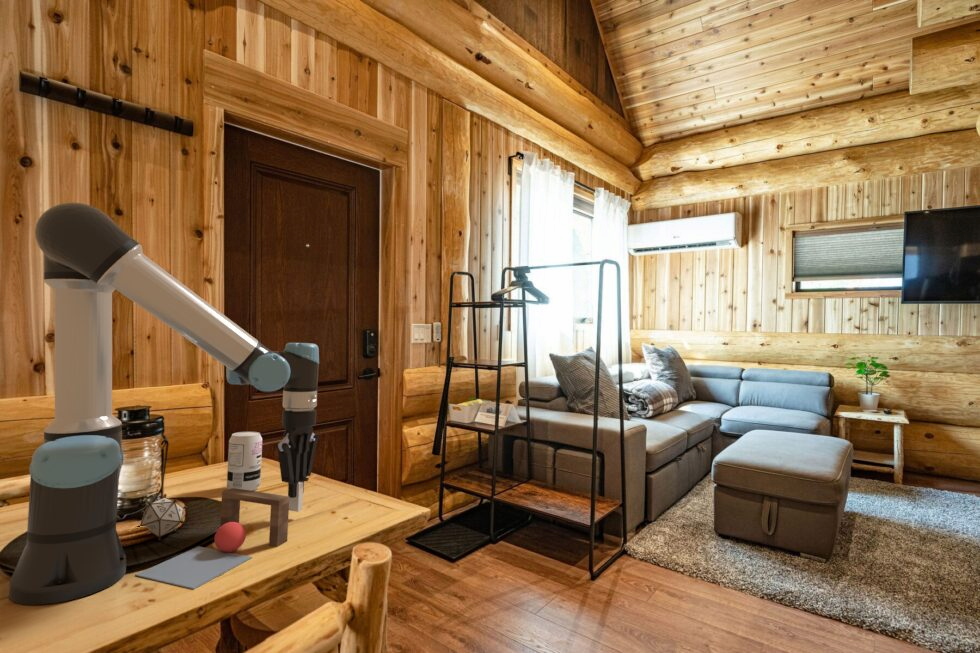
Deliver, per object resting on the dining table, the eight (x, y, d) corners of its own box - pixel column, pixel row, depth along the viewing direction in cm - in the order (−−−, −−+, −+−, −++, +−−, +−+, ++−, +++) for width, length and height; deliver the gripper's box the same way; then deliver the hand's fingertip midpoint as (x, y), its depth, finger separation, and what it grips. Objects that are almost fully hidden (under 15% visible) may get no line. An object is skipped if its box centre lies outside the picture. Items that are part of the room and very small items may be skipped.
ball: (249, 550, 101) (228, 557, 95) (227, 546, 102) (205, 552, 97) (254, 522, 102) (233, 526, 96) (232, 517, 103) (210, 522, 98)
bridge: (277, 546, 102) (279, 500, 102) (219, 535, 106) (222, 491, 107) (287, 541, 105) (289, 496, 105) (231, 530, 109) (233, 487, 109)
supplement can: (227, 486, 140) (229, 431, 141) (259, 483, 144) (262, 430, 144) (225, 494, 133) (228, 437, 133) (260, 491, 137) (262, 436, 137)
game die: (171, 553, 106) (201, 516, 106) (128, 550, 99) (160, 511, 99) (164, 521, 112) (192, 486, 111) (123, 517, 105) (153, 480, 105)
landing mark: (193, 589, 84) (193, 588, 84) (135, 575, 88) (135, 574, 88) (251, 558, 97) (252, 556, 97) (198, 547, 100) (198, 546, 100)
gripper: (294, 413, 111) (289, 521, 111) (330, 406, 124) (325, 503, 123) (266, 410, 114) (261, 516, 113) (304, 404, 126) (299, 499, 125)
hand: (295, 509), depth 118 cm, fingers closed
